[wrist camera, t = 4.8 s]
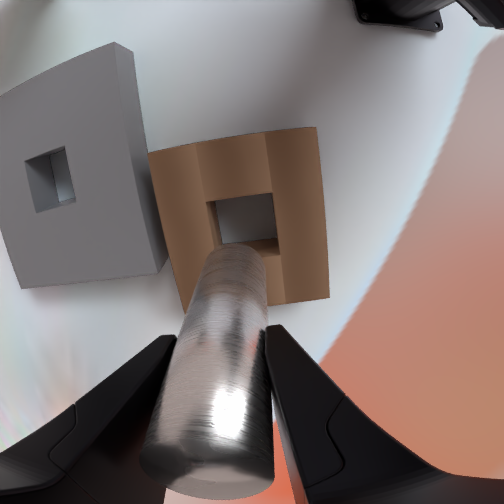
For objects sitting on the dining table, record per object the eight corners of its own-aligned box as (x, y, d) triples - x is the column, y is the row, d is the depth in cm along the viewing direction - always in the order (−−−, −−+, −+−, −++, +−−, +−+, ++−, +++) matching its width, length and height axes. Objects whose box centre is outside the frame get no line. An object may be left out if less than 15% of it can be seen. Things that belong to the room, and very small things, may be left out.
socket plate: (132, 51, 16) (114, 41, 13) (170, 254, 21) (157, 273, 19) (3, 109, 17) (-22, 110, 14) (41, 272, 22) (21, 289, 19)
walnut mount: (307, 127, 18) (316, 126, 15) (321, 276, 22) (329, 297, 19) (162, 149, 19) (147, 153, 16) (193, 291, 22) (185, 314, 20)
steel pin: (260, 238, 12) (266, 438, 4) (269, 295, 13) (279, 497, 5) (197, 247, 12) (117, 435, 4) (210, 301, 13) (165, 496, 5)
